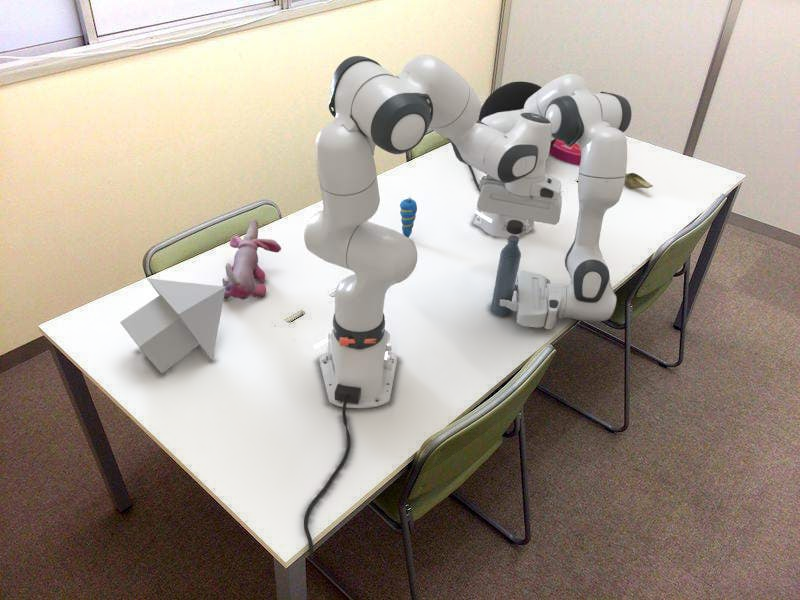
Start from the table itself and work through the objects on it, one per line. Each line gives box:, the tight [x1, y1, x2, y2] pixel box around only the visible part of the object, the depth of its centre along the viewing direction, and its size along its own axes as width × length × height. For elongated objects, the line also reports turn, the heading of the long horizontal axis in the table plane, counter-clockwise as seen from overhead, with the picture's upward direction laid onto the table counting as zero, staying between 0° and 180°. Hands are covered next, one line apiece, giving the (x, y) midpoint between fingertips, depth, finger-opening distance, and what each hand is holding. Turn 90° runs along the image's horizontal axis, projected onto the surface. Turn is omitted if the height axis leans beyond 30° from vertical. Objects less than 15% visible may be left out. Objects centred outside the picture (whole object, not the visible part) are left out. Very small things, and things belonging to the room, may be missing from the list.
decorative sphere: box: [478, 80, 556, 149], centre depth 243 cm, size 30×30×30 cm
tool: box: [624, 172, 654, 189], centre depth 240 cm, size 22×6×5 cm, turn 26°
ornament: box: [399, 195, 418, 238], centre depth 199 cm, size 5×5×15 cm
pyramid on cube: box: [119, 277, 226, 374], centre depth 156 cm, size 17×24×18 cm
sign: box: [549, 139, 581, 166], centre depth 263 cm, size 30×4×30 cm
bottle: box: [490, 235, 522, 317], centre depth 171 cm, size 5×5×23 cm
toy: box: [221, 218, 282, 301], centre depth 179 cm, size 19×24×15 cm
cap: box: [507, 220, 523, 235], centre depth 162 cm, size 4×4×2 cm
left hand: (514, 231), depth 163 cm, fingers closed on cap, 4 cm apart
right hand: (499, 294), depth 175 cm, fingers closed on bottle, 5 cm apart
